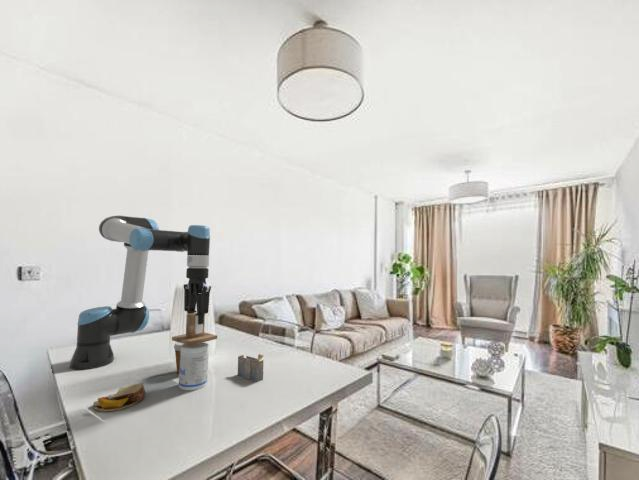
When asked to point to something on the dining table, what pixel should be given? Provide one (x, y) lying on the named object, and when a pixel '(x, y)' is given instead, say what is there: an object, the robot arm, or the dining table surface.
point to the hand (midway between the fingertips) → (195, 332)
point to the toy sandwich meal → (121, 398)
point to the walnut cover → (193, 333)
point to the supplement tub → (193, 366)
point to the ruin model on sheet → (250, 367)
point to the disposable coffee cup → (178, 354)
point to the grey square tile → (156, 384)
